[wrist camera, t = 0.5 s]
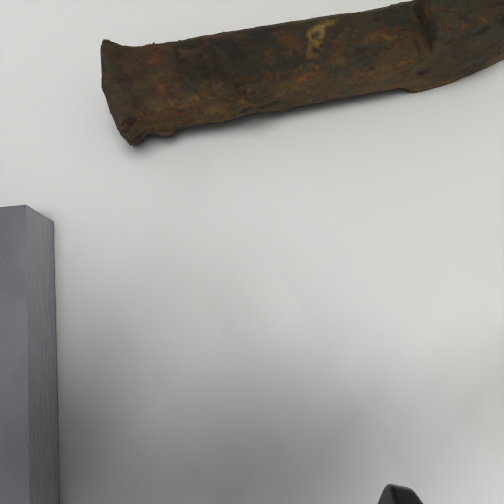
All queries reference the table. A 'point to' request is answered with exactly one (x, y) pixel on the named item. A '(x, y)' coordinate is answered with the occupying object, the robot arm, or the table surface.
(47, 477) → the plate
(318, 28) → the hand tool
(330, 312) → the table surface
